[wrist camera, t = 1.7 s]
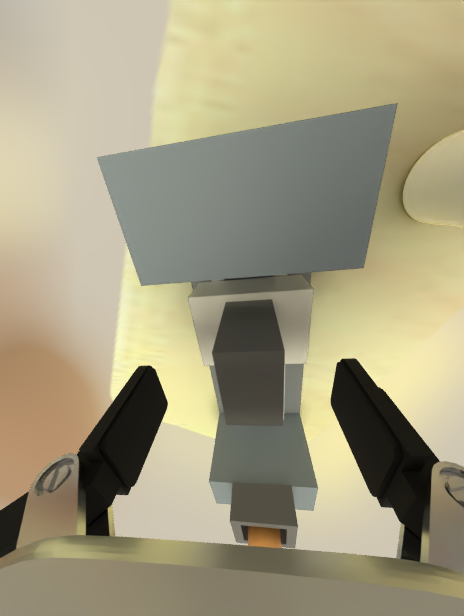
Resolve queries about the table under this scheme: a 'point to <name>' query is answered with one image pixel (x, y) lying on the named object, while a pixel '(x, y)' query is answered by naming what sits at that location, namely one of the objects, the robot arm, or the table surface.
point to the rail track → (256, 260)
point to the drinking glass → (438, 184)
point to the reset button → (264, 537)
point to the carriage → (252, 341)
